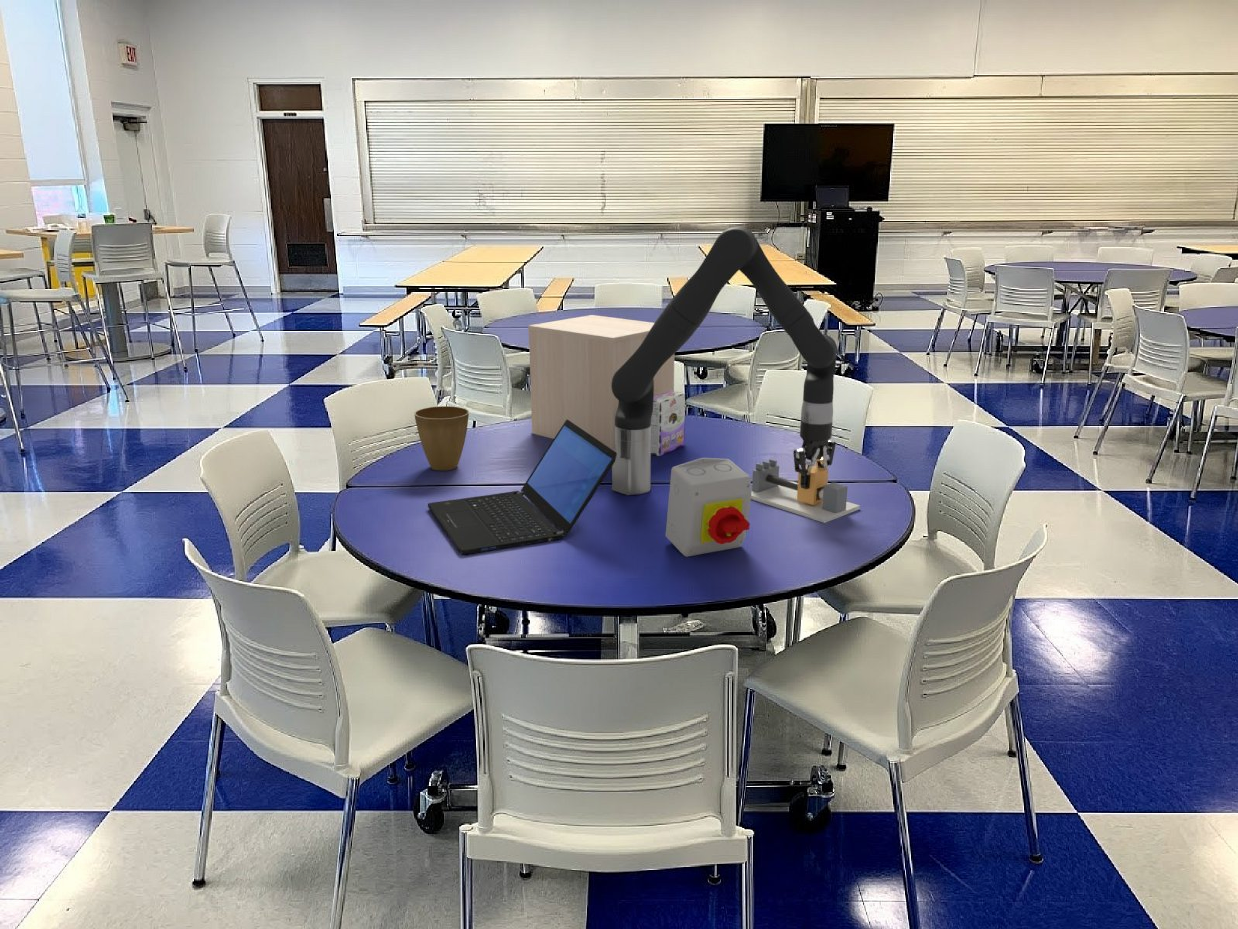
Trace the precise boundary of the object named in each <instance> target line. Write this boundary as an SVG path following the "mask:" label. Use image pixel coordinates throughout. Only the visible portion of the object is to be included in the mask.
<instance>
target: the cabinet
mask: <svg viewBox="0 0 1238 929" xmlns="http://www.w3.org/2000/svg"><path fill="white" fill-rule="evenodd" d="M654 323H655V322H650V321H643V320H635V319H627V318H626V319H625V318H621V317H619V318H618V317H610V316H604V315H603V316H602V315H595V314H589V315H584V316H577V317H571V318H566V319H565V318H564V319H561V320H560V319H559V320H554V321H548V322H547V321H546V322H542V323H536V324H529V325H527V330H528V345H529V346H528V347H529V348H528V350H529V372H530V373H529V377H530V378H529V379H530V403H531V404H530V408H531V409H530V411H531V430H530V431H531V434H533V435H537V436H541V437H545V438H549V439H552V440H553V439H554V438H555V436H556V435H557V433H558V432H559V430H560V429H561V427H562V426H563V424H564V423H565V421H566V420H567V419H568V420H569V421H571V422H572V423H574V424H575V425H577V426H578V427H579V428H581V429H582V430H584V431H585V432H587V433H588V434H590V435H591V436H593V437H594V438H596V439H597V440H599V441H600V442H602V443H603V444H605V445H606V446H608V447H609V448H610V449H612V450H613V451H615V415H616V412H617V409H618V403H619V400H618V399H617V398H616V397H615V396H614V394H613V392H612V388H611V383H612V378H613V376H614V374H615V373H616V371H617V370H618V369H620V368H621V367H622V366H623V365H624V364H625V362H626V361H627V360H628V359H629V358H630V357H631V356H632V355H633V354H634V353H635V351H636V350H637V349H638V348H639V346H640V345H641V344H642V342H643V341H644V339H645V337H646V336H647V334H648V332H649V331H650V329H651V328H652V326H653V325H654ZM653 379H654V396H657V395H660V394H663V393H666V392H668V391H673V392H675V354H674V355H672V356H671V357H670V358H669V359H668V360H667V361H666V362H665V363H664V364H663V365H662V367H661V368H660V369H659V371H658V372H657V373H656V375H655V376H654V378H653Z"/></svg>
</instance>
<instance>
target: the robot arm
mask: <svg viewBox="0 0 1238 929" xmlns="http://www.w3.org/2000/svg"><path fill="white" fill-rule="evenodd" d="M739 271H740V272H741V273H742V274H743V275H744V276H745V277H746V279H748V281H749V282H751V284H752V285H753V287H754V288H755V290H756V291H757V293H758V294H759V296H760V298H761V299H762V301H763V303H764V305H765V306H766V308H767V309H768V311H769V313H770V315H772V317H773V318H774V319H775V321H776V322H777V323H778V325H780V326H779V327H781V328H782V330H784V332H785V333H786V334H787V335H788V336H789V337H790V339H791V340H792V342H793V344H794V346H795V347H796V349H797V351H798V352H799V354H800V355H801V357H802V358H803V359H804V360H805V362H806V376H805V379H804V383H803V395H802V396H803V397H802V404H801V410H800V428H799V436H800V438H801V439H802V445H801V448H799V449H794V450H793V452H792V453H793V454H792V455H793V462H794V463H793V464H794V471H795V472H796V473H798V472H799V473H801V483H800V485H801V488H804V489H809V488H810V473H811V469H812V467H813V466H817V467H821V468H825V469H828V466H831V465H832V464H833V459H834V457H835V455H834V454H835V449H836V445H837V444H836V441H833V440H830V439H832V433H833V422H834V421H833V420H834V389H835V388H834V387H835V386H834V378H835V370H836V365H837V364H836V363H837V358H838V357H837V355H838V345H837V344H836V341H835V340H834V338H833V337H831V336H830V335H827V334H823V332H822V331H821V330H820V329H819V327H817V325H816V324H815V320H814V318H813V316H812V314H811V313H810V312H809V310H808V309H807V307H806V306H805V305H804V304H803V303H802V302H801V301H800V299H799V297H797V295H796V294H795V293H794V292H793V291H792V289H791V288H790V287H789V286H788V285H787V284H786V283H785V281H784V280H783V279H782V277H781V276H780V275H779V274H778V272H777V271H776V270H775V267H773V265H772V264H771V262H770V261H769V259H768V257H767V256H766V253H765V252H764V250H763V249H762V247H761V245H760V243H759V241H758V240H757V237H756V236H755V234H754V232H752V231H751V230H750V229H749V228H747V227H744V226H733V227H729V228H727V229H724V230H723V231H721V233H720V234H719V235H718V236H717V238H716V239H715V241H714V243H713V245H712V246H711V248H710V250H709V252H707V254H706V256H705V258H704V259H703V260H702V262H701V264H700V266H699V267H698V269H697V270H696V271H695V273H693V275H691V277H690V278H689V279H688V280H687V281H686V282H685V283H684V284H683V286H681V288H680V289H679V290H678V291H677V293H675V295H674V296H673V298H672V299H670V301H669V302H668V304H667V305H666V306H665V307H664V309H663V310H662V312H661V313H660V314H659V316H658V318H656V321H655V322H653V323H654V325H653V326H652V328H651V329H650V331H649V332H648V334H647V336H646V337H645V339H644V341H643V342H642V344H641V345H640V346H639V348H638V349H637V350H636V351H635V353H634V354H633V355H632V356H631V357H630V358H629V359H628V360H627V361H626V362H625V364H624V365H623V366H622V367H621V368H620V369H618V370H617V371H616V373H615V374H614V376H613V378H612V383H611V388H612V392H613V394H614V396H615V397H616V398H617V399H618V400H619V403H618V409H617V412H616V415H615V452H616V453H617V456H616V460H615V462H614V464H613V465H612V467H611V478H612V479H611V482H612V483H611V484H612V485H611V490H612V491H614V492H618V493H620V494H622V495H625V496H630V495H631V496H632V495H642V494H646V493H648V492H650V490H651V468H652V467H651V456H652V454H651V417H652V413H653V398H654V379H653V378H654V376H655V375H656V373H657V372H658V371H659V369H660V368H661V367H662V365H663V364H664V363H665V362H666V361H667V360H668V359H669V358H670V357H671V356H672V355H674V356H675V354H676V353H677V352H678V351H679V350H680V349H681V348H682V347H683V346H684V345H685V344H686V343H687V342H688V341H689V339H691V337H692V336H693V335H694V333H695V332H696V331H697V330H698V328H700V326H701V325H702V323H703V322H704V320H705V319H706V317H707V316H708V314H709V312H710V311H711V309H712V307H713V305H714V304H715V301H716V299H717V298H718V296H719V294H720V292H721V291H722V289H723V288H724V287H725V286H726V285H727V284H728V282H729V281H731V279H732V278H733V277H734V276H735V275H736V274H737V273H738V272H739ZM807 466H808V467H807ZM806 467H807V469H806Z"/></svg>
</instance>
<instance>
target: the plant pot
mask: <svg viewBox="0 0 1238 929" xmlns="http://www.w3.org/2000/svg"><path fill="white" fill-rule="evenodd" d="M469 414H470V411H469V409H467V408H464V407H460V406H450V405H446V406H445V405H442V406H430V407H424V408H420V409H418V410H416V411H415V412H414V415H413V416H414V420H415V425H416V429H417V433H418V437H419V440H420V443H421V447H422V449H423V452H424V455H425V457H426V460H427V463H428V464H429V466H430V469H431V470H434V471H451V470H455V469H456V468H458V467H459V466H458V465H459V464H460V463H459V462H460V461H461V460H460V459H461V457H462V453H463V451H464V446H465V441H466V436H467V431H468V426H469V425H468V424H469V417H470V416H469Z"/></svg>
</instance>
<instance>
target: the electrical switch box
mask: <svg viewBox="0 0 1238 929" xmlns="http://www.w3.org/2000/svg"><path fill="white" fill-rule="evenodd" d="M751 478H752V477H751V476H750V475H749V474H748V473H747V472H746V471H744V470H743V469H741V467H739V465H737V464H735V463H734V462H733V461H732V460H730V459H729V458H718V457H717V458H716V457H700V458H696V459H693V460H690V461H687V462H684V463H681V464H678V465H675V466H672V468H671V472H670V481H669V483H670V484H669V493H668V503H667V515H666V524H665V526H666V527H665V537H666V539H668V540H669V541H670V543H672V545H673V546H674V547H675V548H676V549H677V550H678V551H679V553H680V554H682V555H683V556H684V557H686V558H688V557H693V556H698V555H703V554H710V553H715V552H720V551H725V550H726V551H727V550H731V549H738V548H741V547H742V545H743V543H744V541H745V539H746V536H747V531H748V530H750V525H751V523H750V522H749V515H750V507H751V502H752V501H751V500H752V499H751V493H752V480H751Z"/></svg>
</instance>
